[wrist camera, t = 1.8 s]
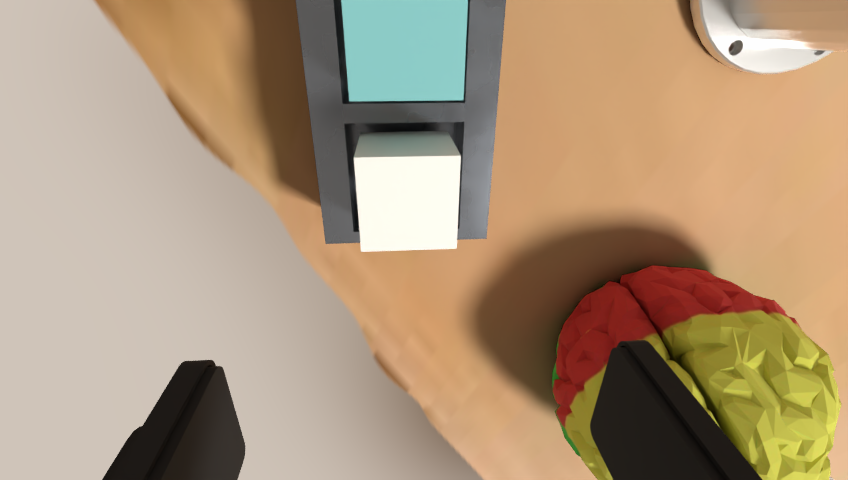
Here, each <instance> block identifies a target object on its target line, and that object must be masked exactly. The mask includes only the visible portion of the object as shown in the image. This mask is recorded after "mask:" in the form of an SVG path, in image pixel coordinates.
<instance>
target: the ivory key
mask: <svg viewBox="0 0 848 480" xmlns="http://www.w3.org/2000/svg"><path fill="white" fill-rule="evenodd" d="M460 164H461V155H460V153H459V151H458V149H457V147H456V146H455V144H454V142H453V140H452V138H451V136H450V134H449V132H448V131H417V132H360V136H359V140H358V144H357V147H356V151H355V155H354V167H355V180H356V193H357V205H358V218H359V231H360V243H361V252H370V251H400V250H430V249H457V231H458V209H459V187H460Z"/></svg>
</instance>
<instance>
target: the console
mask: <svg viewBox="0 0 848 480" xmlns="http://www.w3.org/2000/svg"><path fill="white" fill-rule="evenodd" d="M505 5H506V0H468V10H467V33H466V55H465V77H464V99H463V100H442V101H349V92H348V79H347V66H346V53H345V41H344V28H343V15H342V3H341V0H296V7H297V15H298V23H299V31H300V39H301V47H302V56H303V64H304V72H305V80H306V88H307V96H308V104H309V112H310V120H311V129H312V137H313V145H314V153H315V161H316V169H317V177H318V185H319V193H320V202H321V210H322V218H323V226H324V234H325V242H326V244H334V243H360V231H359V218H358V205H357V193H356V180H355V167H354V155H355V151H356V147H357V144H358V140H359V136H360V132H417V131H448V132H449V134H450V136H451V138H452V140H453V142H454V144H455V146H456V147H457V149H458V151H459V153H460V155H461V164H460V187H459V209H458V231H457V240H458V239H486V237H487V225H488V213H489V200H490V188H491V176H492V164H493V152H494V140H495V127H496V115H497V103H498V91H499V79H500V66H501V54H502V42H503V30H504V18H505Z"/></svg>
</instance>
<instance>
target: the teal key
mask: <svg viewBox="0 0 848 480" xmlns="http://www.w3.org/2000/svg"><path fill="white" fill-rule="evenodd" d="M341 3H342V15H343V28H344V41H345V53H346V66H347V79H348V92H349V101H442V100H463V99H464V77H465V55H466V33H467V10H468V0H341Z"/></svg>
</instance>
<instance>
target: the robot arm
mask: <svg viewBox="0 0 848 480" xmlns="http://www.w3.org/2000/svg"><path fill="white" fill-rule="evenodd" d="M690 9H691V13H692V18H693V23H694V27H695V29H696V31H697V34H698V36H699V38H700V40H701V42H702V44H703V45H704V47H705V48H706V49H707V50H708V51H709V53H710V54H711V55H712V56H713V57H714V58H715V59H717V60H718V61H720V62H721V63H722V64H724V65H725V66H728V67H730V68H733V69H736V70H738V71H742V72H749V73H755V74H779V73H784V72H788V71H793V70H797V69H799V68H802V67H805V66H807V65H810V64H812V63H815V62H817V61H818V60H820V59H822V58H824V57H825V56H827V55H829V54H830V53H832V52H834V51H843V52H848V0H690ZM590 431H591V435H592V438H593V440H594V442H595V444H596V446H597V448H598V450H599V452H600V454H601V456H602V458H603V460H604V462H605V464H606V466H607V468H608V470H609V472H610V474H611V476H612V478H613V480H762V478H761V477H760V476H759V475H758V474H757V472H756V471H755V470H754V469H753V467H752V466H751V465H750V464H749V463H748V461H747V460H746V459H745V458H744V456H743V455H742V454H741V453H740V452H739V450H738V449H737V448H736V447H735V446H734V444H733V443H732V442H731V441H730V439H729V438H728V437H727V436H726V435H725V433H724V432H723V431H722V430H721V429H720V427H719V426H718V425H717V424H716V422H715V421H714V420H713V419H712V418H711V416H710V415H709V414H708V413H707V412H706V410H705V409H704V408H703V407H702V405H701V404H700V403H699V402H698V401H697V399H696V398H695V397H694V396H693V394H692V393H691V392H690V391H689V390H688V388H687V387H686V386H685V385H684V384H683V382H682V381H681V380H680V379H679V377H678V376H677V375H676V374H675V373H674V371H673V370H672V369H671V368H670V367H669V365H668V364H667V363H666V362H665V360H664V359H663V358H662V357H661V356H660V354H659V353H658V352H657V351H656V350H655V348H654V347H653V346H652V345H651V344H650V343H649V342H648V341H646V340H633V341H620V342H619V343H618V345H617V347H616V348H613V349H612V350H611V352H610V356H609V359H608V363H607V366H606V370H605V373H604V377H603V380H602V383H601V387H600V390H599V394H598V397H597V401H596V404H595V408H594V411H593V415H592V418H591V421H590ZM244 456H245V443H244V439H243V436H242V432H241V429H240V425H239V422H238V418H237V415H236V411H235V408H234V405H233V401H232V398H231V395H230V391H229V387H228V384H227V380H226V377H225V373H224V370H223V368H222V367H220V366H216V365H215V363H214V361H212V360H201V361H185V362H183V363H181V365H180V366H179V367H178V369H177V371H176V372H175V374H174V376H173V377H172V379H171V380H170V382H169V384H168V385H167V387H166V389H165V390H164V392H163V393H162V395H161V397H160V399H159V400H158V402H157V403H156V405H155V407H154V408H153V410H152V411H151V413H150V415H149V416H148V418H147V420H146V422H145V423H144V425H143V426H141V427H139V428H137V429H136V430H135V431H133V433H132V434H131V435H130V437H129V438H128V439H127V441H126V442H125V444H124V446H123V447H122V449H121V450H120V452H119V454H118V455H117V457H116V458H115V460H114V462H113V463H112V465H111V466H110V468H109V470H108V471H107V473H106V474H105V476H104V478H103V479H102V480H237V479H238V476H239V473H240V470H241V467H242V464H243V460H244Z"/></svg>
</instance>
